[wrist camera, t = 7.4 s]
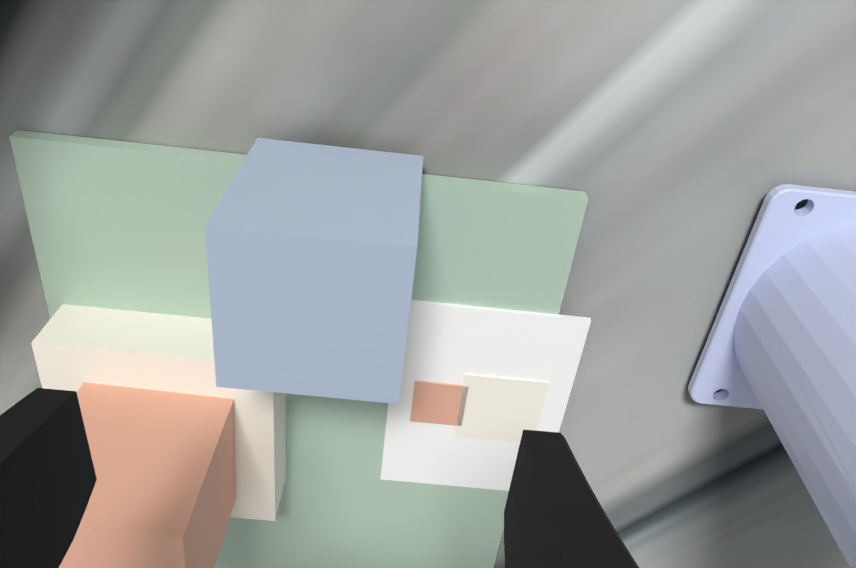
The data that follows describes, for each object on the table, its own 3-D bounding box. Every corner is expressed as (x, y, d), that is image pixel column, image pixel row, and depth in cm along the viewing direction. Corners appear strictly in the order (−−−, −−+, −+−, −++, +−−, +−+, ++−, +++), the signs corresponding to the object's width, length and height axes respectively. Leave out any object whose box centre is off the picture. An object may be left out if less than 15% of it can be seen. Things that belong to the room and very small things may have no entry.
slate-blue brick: (423, 156, 19) (417, 247, 15) (408, 292, 22) (398, 404, 17) (257, 137, 19) (204, 225, 15) (260, 277, 21) (216, 386, 17)
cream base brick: (285, 326, 22) (272, 366, 21) (285, 476, 26) (275, 521, 25) (62, 304, 22) (31, 343, 20) (95, 459, 26) (71, 503, 24)
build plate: (585, 191, 20) (588, 199, 20) (471, 640, 33) (472, 650, 32) (17, 129, 20) (9, 136, 19) (122, 612, 32) (118, 622, 32)
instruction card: (590, 317, 22) (591, 322, 22) (540, 490, 26) (541, 495, 26) (399, 298, 22) (398, 302, 22) (380, 476, 26) (380, 480, 26)
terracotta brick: (235, 497, 24) (191, 639, 20) (101, 483, 24) (27, 624, 20) (233, 399, 22) (182, 537, 17) (83, 381, 21) (-6, 518, 17)
